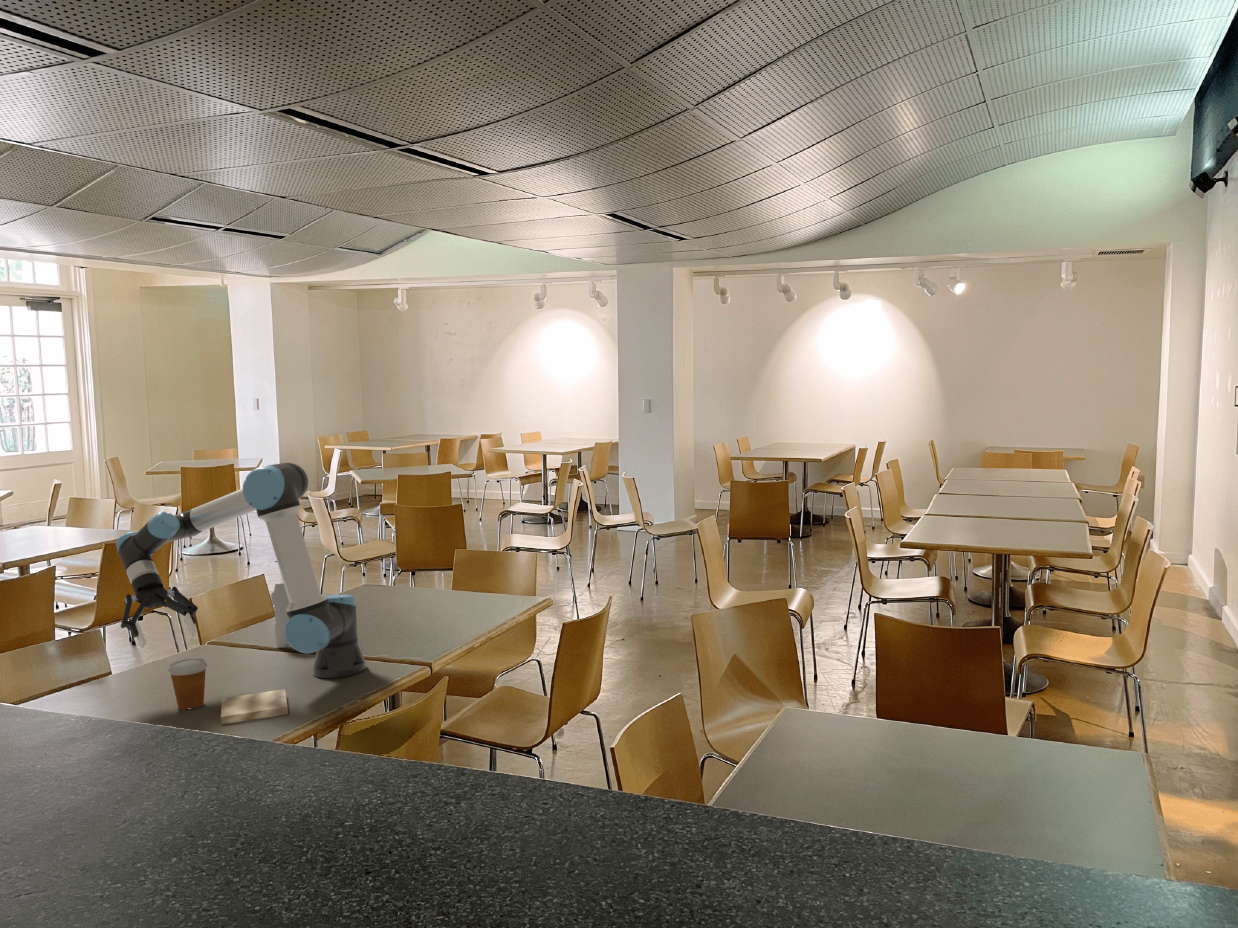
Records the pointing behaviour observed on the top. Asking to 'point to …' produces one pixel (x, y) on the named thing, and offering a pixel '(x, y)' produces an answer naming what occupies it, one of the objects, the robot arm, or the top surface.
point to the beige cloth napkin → (253, 706)
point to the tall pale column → (280, 614)
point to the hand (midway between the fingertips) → (169, 639)
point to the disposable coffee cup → (189, 682)
